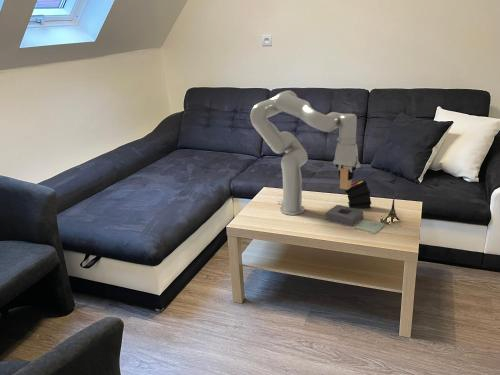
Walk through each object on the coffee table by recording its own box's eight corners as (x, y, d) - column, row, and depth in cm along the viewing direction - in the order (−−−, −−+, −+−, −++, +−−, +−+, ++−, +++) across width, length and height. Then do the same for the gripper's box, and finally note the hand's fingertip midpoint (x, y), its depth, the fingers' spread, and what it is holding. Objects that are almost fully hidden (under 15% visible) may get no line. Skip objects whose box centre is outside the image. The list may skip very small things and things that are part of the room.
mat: (355, 228, 201) (355, 227, 201) (364, 220, 208) (364, 219, 208) (375, 233, 195) (375, 232, 195) (384, 225, 202) (384, 224, 202)
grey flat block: (325, 219, 211) (325, 212, 210) (337, 211, 220) (337, 204, 218) (352, 226, 203) (352, 218, 201) (362, 217, 211) (363, 210, 210)
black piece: (377, 205, 221) (365, 181, 217) (353, 215, 224) (341, 191, 220) (376, 203, 224) (364, 178, 220) (352, 212, 228) (340, 188, 224)
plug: (339, 188, 205) (340, 168, 202) (343, 185, 208) (344, 166, 205) (347, 189, 203) (348, 169, 199) (351, 187, 206) (352, 167, 202)
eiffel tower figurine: (380, 213, 217) (381, 188, 212) (401, 215, 214) (403, 190, 209) (380, 226, 203) (381, 199, 199) (402, 227, 201) (405, 201, 196)
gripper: (327, 140, 200) (326, 177, 206) (360, 145, 190) (358, 184, 196) (334, 137, 205) (333, 173, 212) (367, 141, 196) (365, 179, 202)
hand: (345, 178), depth 204 cm, fingers closed on plug, 4 cm apart
